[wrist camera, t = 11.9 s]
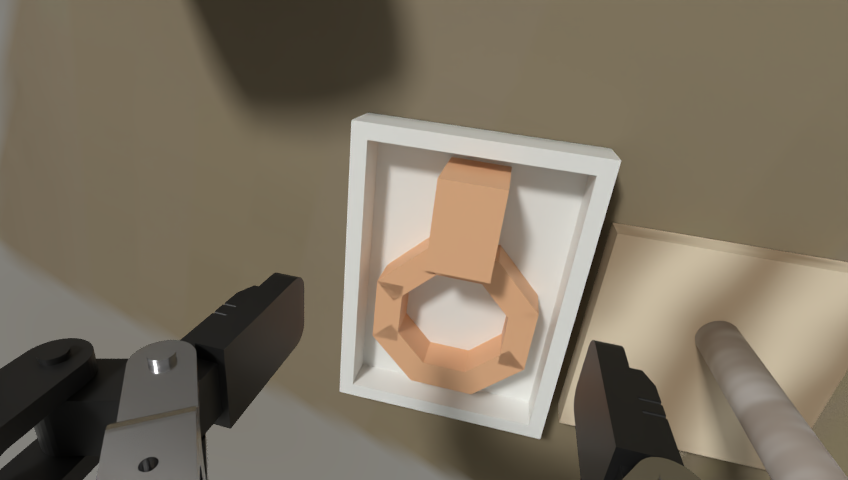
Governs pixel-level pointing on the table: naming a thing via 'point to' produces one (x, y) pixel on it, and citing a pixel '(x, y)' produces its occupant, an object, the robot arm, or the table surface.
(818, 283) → the stake board
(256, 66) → the table surface
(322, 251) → the table surface
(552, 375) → the white tray
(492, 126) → the table surface
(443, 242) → the terracotta ring
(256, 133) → the table surface
